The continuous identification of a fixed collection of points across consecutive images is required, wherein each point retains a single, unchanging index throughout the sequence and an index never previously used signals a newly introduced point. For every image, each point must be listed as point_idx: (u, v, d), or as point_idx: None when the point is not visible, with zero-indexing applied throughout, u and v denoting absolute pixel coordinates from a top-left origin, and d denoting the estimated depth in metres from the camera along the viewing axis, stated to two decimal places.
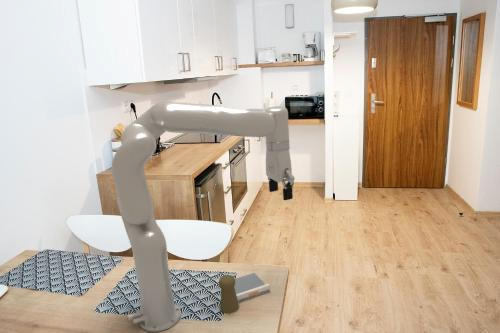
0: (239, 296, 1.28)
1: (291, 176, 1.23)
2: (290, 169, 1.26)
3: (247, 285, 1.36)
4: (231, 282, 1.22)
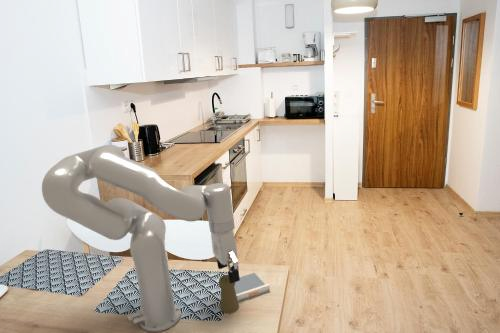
0: (239, 296, 1.28)
1: (235, 260, 1.14)
2: (235, 251, 1.17)
3: (247, 285, 1.36)
4: None
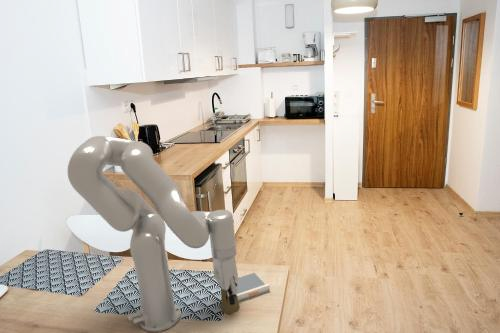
0: (239, 296, 1.28)
1: (234, 290, 1.18)
2: (236, 276, 1.19)
3: (247, 285, 1.36)
4: None
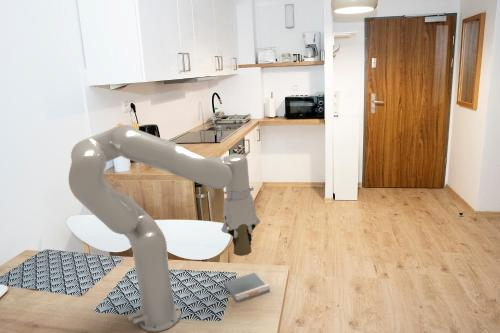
0: (239, 296, 1.28)
1: (222, 228, 1.26)
2: (227, 219, 1.25)
3: (247, 285, 1.36)
4: None
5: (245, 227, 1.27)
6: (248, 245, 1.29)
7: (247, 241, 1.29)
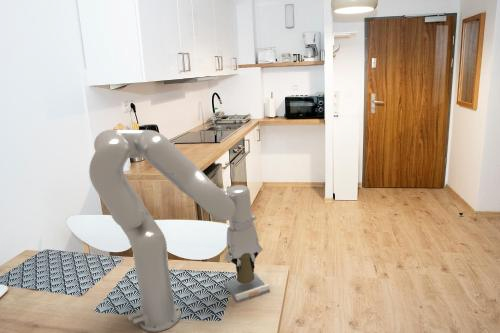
0: (239, 296, 1.28)
1: (226, 257, 1.29)
2: (230, 248, 1.28)
3: (247, 285, 1.36)
4: None
5: (248, 256, 1.30)
6: (251, 273, 1.32)
7: (250, 269, 1.32)
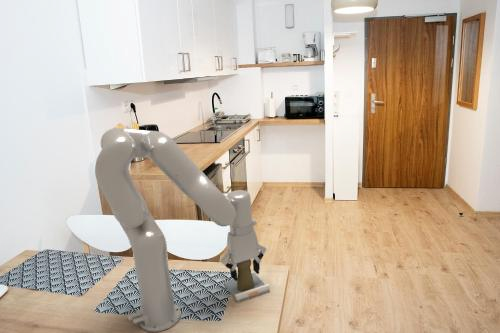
0: (239, 296, 1.28)
1: (222, 259, 1.29)
2: (231, 253, 1.28)
3: None
4: None
5: (248, 265, 1.31)
6: (251, 282, 1.33)
7: (250, 278, 1.32)
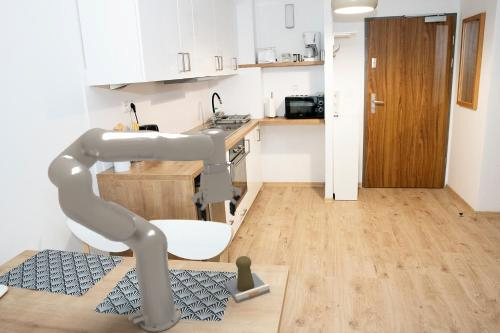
0: (239, 296, 1.28)
1: (192, 196, 1.26)
2: (203, 192, 1.26)
3: None
4: (237, 262, 1.31)
5: (248, 265, 1.31)
6: (251, 282, 1.33)
7: (250, 278, 1.32)
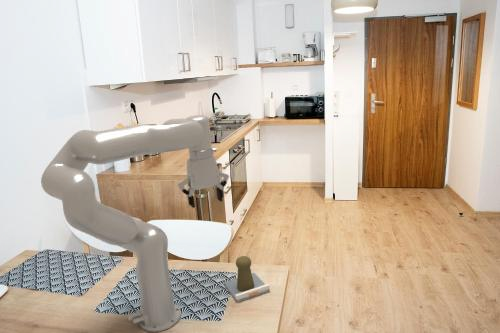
0: (239, 296, 1.28)
1: (180, 183, 1.27)
2: (190, 179, 1.27)
3: None
4: (237, 262, 1.31)
5: (248, 265, 1.31)
6: (251, 282, 1.33)
7: (250, 278, 1.32)
